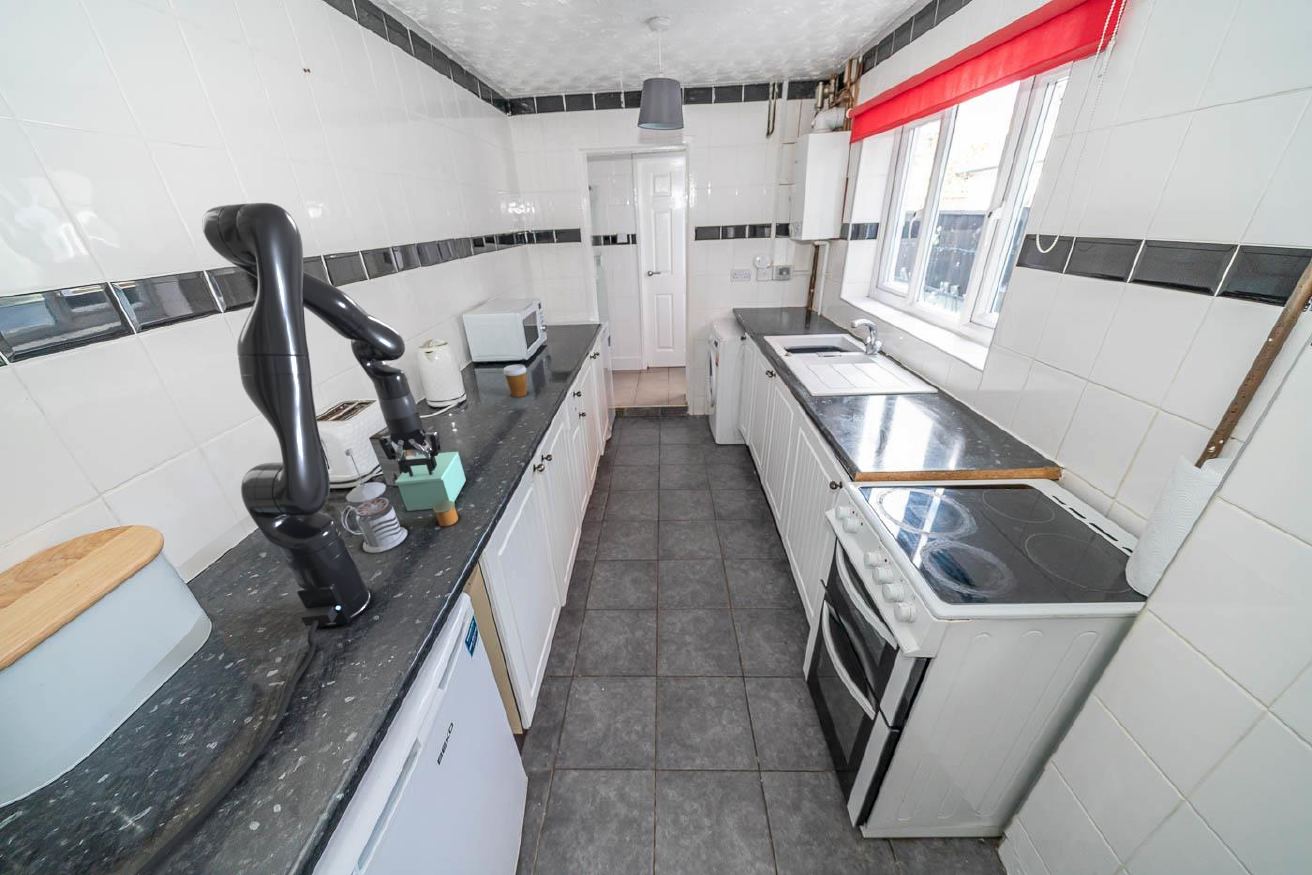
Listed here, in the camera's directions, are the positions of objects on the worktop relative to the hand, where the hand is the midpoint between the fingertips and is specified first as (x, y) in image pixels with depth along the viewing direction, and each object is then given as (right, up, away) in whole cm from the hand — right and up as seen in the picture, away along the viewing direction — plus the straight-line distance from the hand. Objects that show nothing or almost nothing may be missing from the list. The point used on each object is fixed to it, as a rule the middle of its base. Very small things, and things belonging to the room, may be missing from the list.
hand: (420, 470), depth 118 cm
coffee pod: (+8, -13, -2) cm, 15 cm away
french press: (-5, -17, -8) cm, 19 cm away
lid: (0, 0, +5) cm, 5 cm away
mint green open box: (0, -8, +10) cm, 12 cm away
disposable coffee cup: (+2, +27, +78) cm, 82 cm away
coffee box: (-14, -4, +19) cm, 24 cm away
